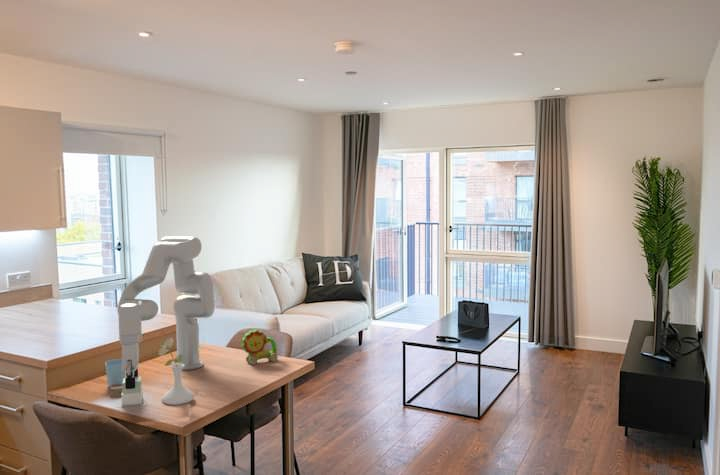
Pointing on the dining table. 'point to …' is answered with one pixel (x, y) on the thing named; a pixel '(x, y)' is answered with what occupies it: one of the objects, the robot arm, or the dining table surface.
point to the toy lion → (258, 347)
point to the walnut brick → (116, 390)
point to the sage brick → (136, 389)
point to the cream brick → (132, 398)
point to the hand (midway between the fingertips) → (131, 383)
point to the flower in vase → (178, 391)
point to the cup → (114, 372)
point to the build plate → (132, 404)
